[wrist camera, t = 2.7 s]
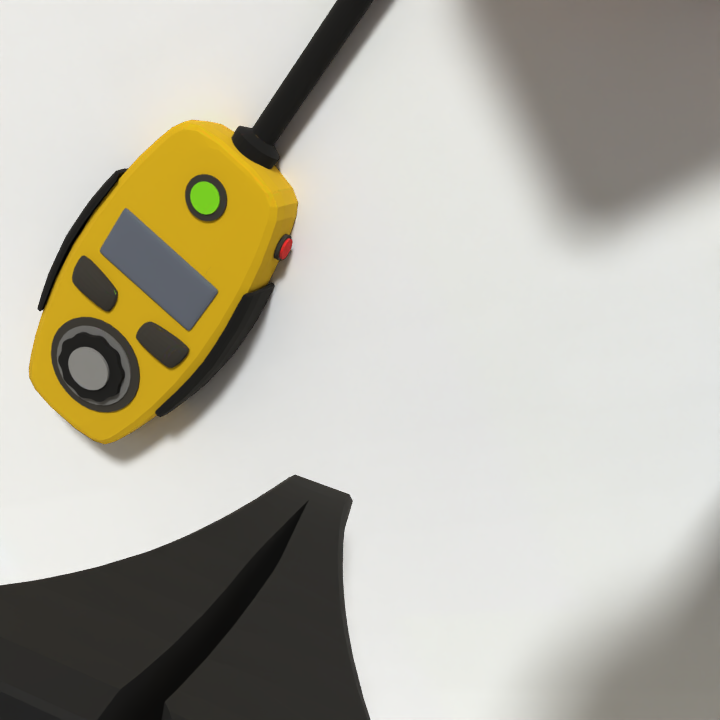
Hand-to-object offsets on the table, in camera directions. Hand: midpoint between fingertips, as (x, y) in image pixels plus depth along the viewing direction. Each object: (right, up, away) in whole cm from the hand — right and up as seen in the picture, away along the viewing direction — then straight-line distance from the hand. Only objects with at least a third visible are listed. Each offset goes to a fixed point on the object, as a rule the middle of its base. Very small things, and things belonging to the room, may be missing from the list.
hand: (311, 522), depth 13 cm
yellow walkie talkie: (-2, +7, +2) cm, 8 cm away
